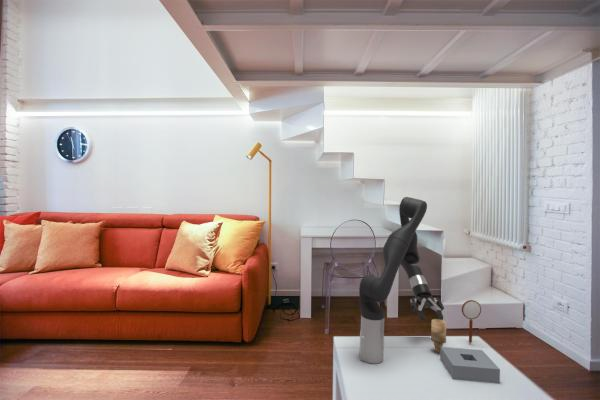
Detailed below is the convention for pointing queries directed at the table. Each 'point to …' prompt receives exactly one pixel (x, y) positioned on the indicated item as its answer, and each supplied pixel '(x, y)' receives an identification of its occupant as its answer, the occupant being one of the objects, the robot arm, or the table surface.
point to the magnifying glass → (471, 313)
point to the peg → (438, 333)
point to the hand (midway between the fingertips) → (432, 320)
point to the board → (469, 365)
